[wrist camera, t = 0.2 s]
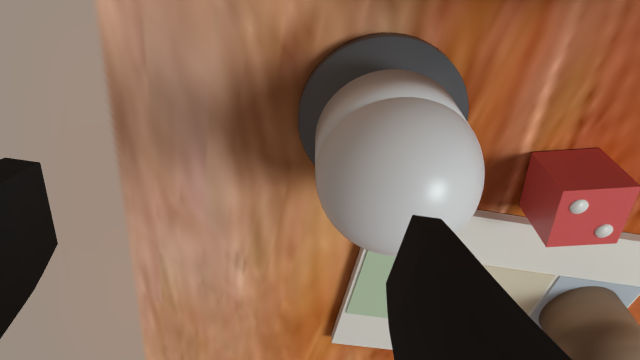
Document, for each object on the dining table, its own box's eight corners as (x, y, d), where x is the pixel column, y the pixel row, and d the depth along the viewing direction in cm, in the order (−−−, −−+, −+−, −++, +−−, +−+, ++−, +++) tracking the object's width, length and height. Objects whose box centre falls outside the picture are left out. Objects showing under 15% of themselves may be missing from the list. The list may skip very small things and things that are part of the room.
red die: (581, 201, 21) (617, 244, 18) (518, 204, 21) (546, 248, 19) (599, 147, 19) (642, 187, 17) (531, 152, 19) (564, 192, 17)
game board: (567, 361, 29) (572, 371, 28) (331, 334, 27) (331, 344, 26) (674, 240, 22) (683, 249, 22) (378, 194, 21) (380, 203, 20)
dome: (429, 200, 19) (466, 302, 14) (303, 180, 18) (300, 281, 14) (480, 80, 16) (548, 161, 11) (331, 52, 15) (338, 125, 10)
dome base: (431, 193, 21) (434, 201, 20) (287, 171, 20) (286, 178, 19) (491, 51, 17) (497, 56, 16) (315, 16, 16) (315, 20, 15)
